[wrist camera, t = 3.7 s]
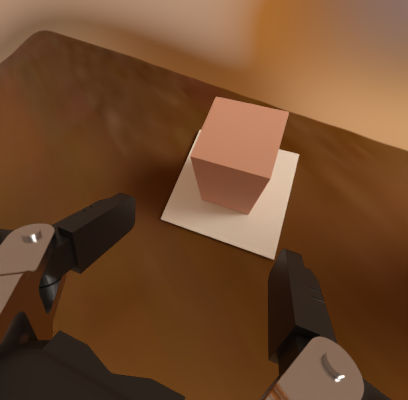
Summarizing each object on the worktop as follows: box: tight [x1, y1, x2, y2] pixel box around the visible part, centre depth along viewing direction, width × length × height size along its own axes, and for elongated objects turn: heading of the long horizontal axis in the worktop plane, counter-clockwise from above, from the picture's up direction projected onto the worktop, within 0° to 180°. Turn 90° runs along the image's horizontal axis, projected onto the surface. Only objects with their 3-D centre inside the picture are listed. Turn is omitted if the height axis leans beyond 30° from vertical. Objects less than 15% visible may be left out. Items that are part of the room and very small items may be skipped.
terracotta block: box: [190, 97, 289, 215], centre depth 19 cm, size 6×6×10 cm
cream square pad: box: [161, 130, 299, 260], centre depth 24 cm, size 14×14×1 cm
